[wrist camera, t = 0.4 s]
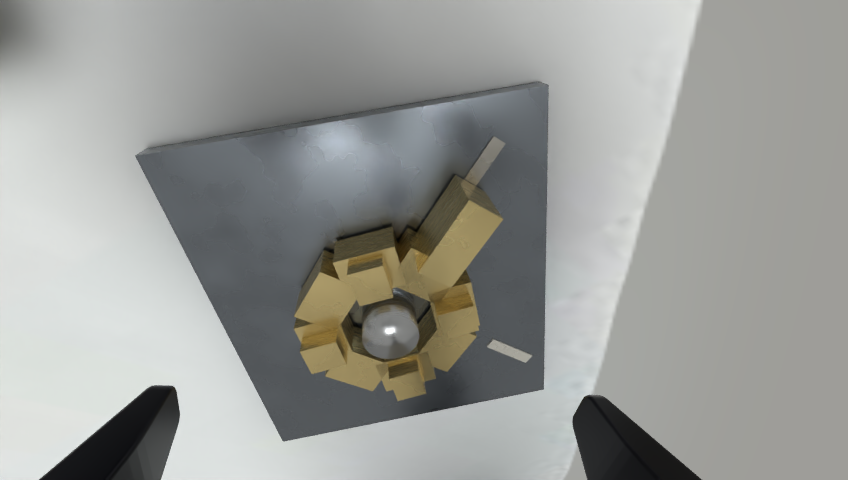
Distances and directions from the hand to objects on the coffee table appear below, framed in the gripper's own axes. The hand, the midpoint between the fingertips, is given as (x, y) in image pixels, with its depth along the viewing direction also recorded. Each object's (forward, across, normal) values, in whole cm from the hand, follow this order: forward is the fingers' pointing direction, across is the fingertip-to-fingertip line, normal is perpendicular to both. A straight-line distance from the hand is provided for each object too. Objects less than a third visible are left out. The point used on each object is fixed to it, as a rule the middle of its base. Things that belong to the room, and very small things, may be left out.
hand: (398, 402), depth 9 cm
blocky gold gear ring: (+12, -2, +5) cm, 13 cm away
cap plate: (+13, -1, +7) cm, 14 cm away
